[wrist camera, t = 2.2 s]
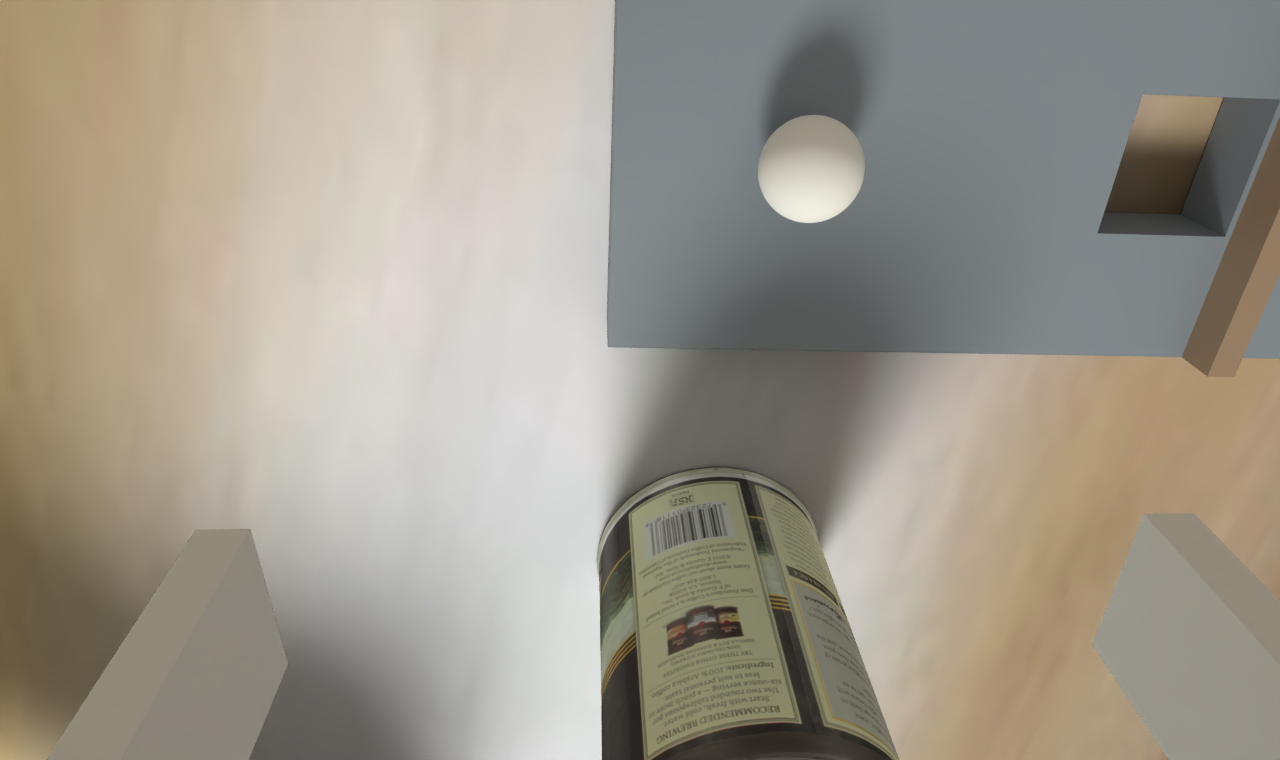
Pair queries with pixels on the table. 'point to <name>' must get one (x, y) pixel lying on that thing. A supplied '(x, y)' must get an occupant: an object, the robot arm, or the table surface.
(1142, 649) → the robot arm
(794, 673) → the coffee can
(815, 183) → the ball
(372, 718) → the table surface
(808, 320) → the deck
